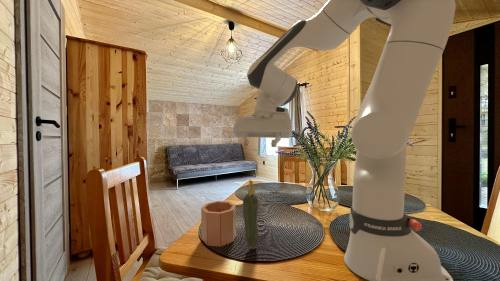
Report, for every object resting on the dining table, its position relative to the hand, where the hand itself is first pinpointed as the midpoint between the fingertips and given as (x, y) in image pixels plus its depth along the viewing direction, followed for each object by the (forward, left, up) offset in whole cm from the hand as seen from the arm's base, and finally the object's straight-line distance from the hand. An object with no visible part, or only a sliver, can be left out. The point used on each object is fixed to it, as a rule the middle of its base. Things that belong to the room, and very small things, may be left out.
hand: (259, 145), depth 76 cm
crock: (+12, +7, -29) cm, 32 cm away
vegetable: (+1, +12, -29) cm, 31 cm away
